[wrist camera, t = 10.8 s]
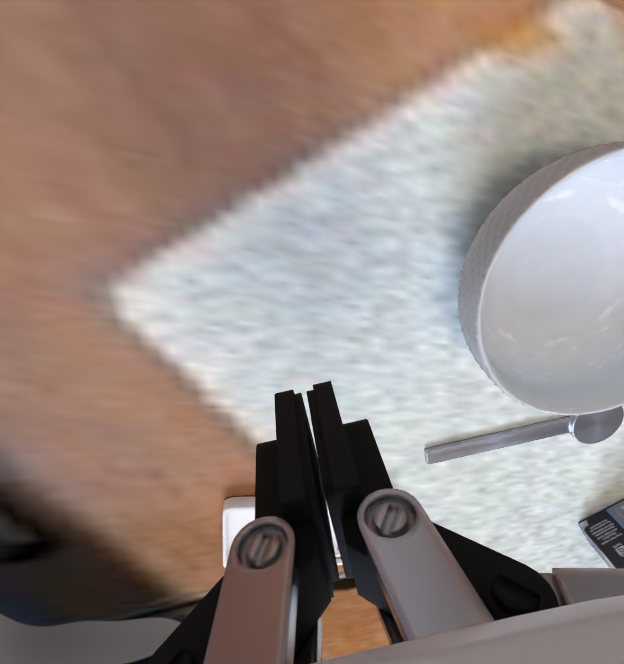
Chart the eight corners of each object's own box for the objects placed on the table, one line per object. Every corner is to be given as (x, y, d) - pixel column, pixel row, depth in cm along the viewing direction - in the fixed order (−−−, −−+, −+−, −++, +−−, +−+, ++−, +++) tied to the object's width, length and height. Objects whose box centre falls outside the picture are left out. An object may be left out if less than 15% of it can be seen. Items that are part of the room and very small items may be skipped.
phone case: (392, 492, 38) (224, 496, 36) (397, 504, 36) (222, 508, 34) (381, 551, 40) (224, 556, 39) (384, 563, 39) (223, 570, 37)
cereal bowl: (410, 362, 32) (446, 414, 26) (463, 126, 26) (529, 117, 20) (604, 372, 35) (681, 423, 28) (696, 158, 28) (824, 160, 22)
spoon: (422, 434, 35) (426, 440, 35) (619, 389, 36) (627, 394, 35) (426, 474, 37) (430, 481, 36) (614, 432, 37) (620, 437, 37)
